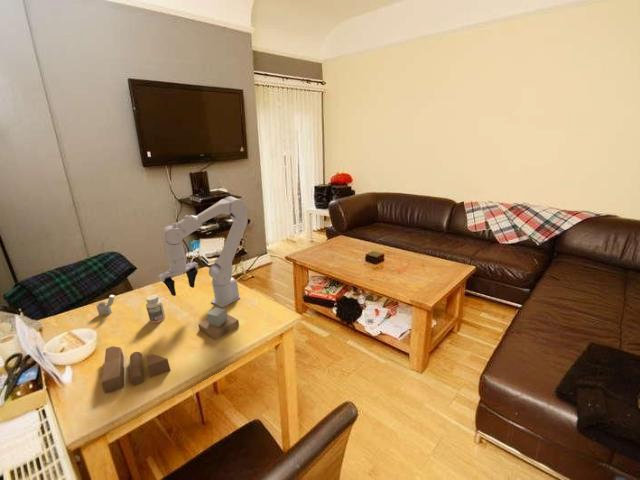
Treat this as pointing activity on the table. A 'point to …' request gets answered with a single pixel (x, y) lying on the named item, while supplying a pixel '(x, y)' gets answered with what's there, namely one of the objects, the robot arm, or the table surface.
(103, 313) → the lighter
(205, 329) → the walnut block
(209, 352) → the table surface
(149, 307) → the pill bottle
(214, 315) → the grey cube
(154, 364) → the wooden block set
